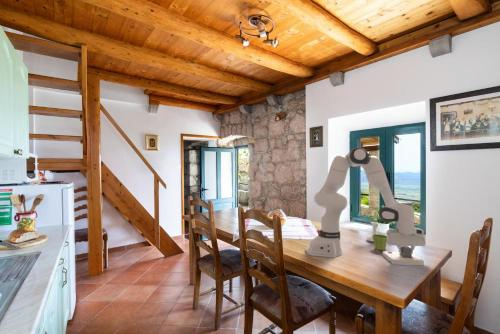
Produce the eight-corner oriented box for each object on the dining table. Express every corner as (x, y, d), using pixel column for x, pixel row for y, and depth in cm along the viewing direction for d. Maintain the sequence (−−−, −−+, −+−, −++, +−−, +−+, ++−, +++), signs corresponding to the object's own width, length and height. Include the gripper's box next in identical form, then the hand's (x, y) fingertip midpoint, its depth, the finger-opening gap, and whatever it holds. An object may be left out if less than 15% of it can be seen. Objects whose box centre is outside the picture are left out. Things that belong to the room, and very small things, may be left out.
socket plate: (393, 264, 137) (393, 258, 137) (382, 255, 151) (382, 250, 151) (423, 265, 135) (423, 259, 135) (410, 256, 149) (410, 251, 149)
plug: (404, 258, 141) (404, 247, 141) (400, 255, 146) (399, 245, 146) (411, 259, 141) (411, 248, 141) (407, 255, 146) (407, 245, 146)
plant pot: (379, 252, 157) (379, 238, 157) (369, 247, 166) (368, 234, 166) (391, 250, 159) (391, 237, 160) (380, 246, 169) (380, 233, 169)
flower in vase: (379, 239, 184) (379, 206, 184) (386, 244, 173) (386, 208, 173) (361, 239, 186) (361, 206, 186) (367, 243, 174) (366, 208, 174)
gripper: (389, 230, 141) (389, 254, 141) (427, 231, 139) (427, 255, 139) (384, 227, 148) (384, 250, 148) (420, 228, 145) (421, 251, 145)
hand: (405, 252), depth 143 cm, fingers closed on plug, 4 cm apart
